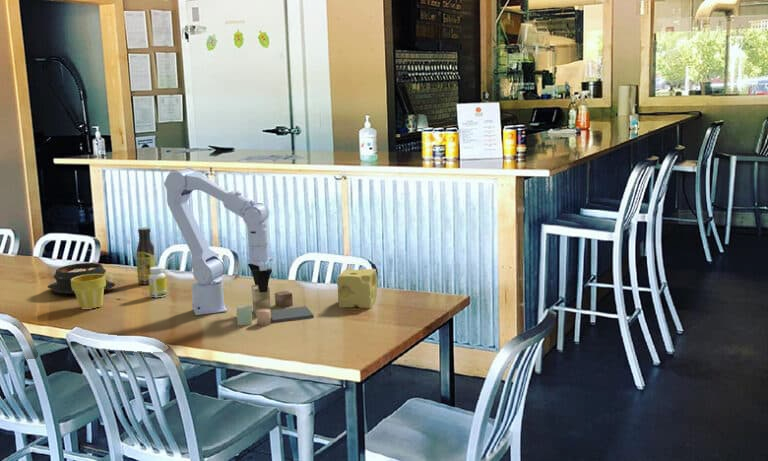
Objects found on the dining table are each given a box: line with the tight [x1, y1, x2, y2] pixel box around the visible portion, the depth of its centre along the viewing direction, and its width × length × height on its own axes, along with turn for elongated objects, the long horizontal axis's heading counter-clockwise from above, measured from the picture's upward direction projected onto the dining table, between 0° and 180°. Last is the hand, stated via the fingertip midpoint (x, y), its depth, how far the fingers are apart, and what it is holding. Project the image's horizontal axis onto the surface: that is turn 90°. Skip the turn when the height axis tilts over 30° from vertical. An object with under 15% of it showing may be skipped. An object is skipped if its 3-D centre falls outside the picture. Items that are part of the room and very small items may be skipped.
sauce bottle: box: [135, 226, 156, 285], centre depth 278 cm, size 7×6×20 cm
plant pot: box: [71, 274, 107, 309], centre depth 250 cm, size 10×10×10 cm
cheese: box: [336, 268, 378, 309], centre depth 243 cm, size 10×11×10 cm
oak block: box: [251, 285, 272, 316], centre depth 238 cm, size 4×4×8 cm
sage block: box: [236, 305, 253, 326], centre depth 228 cm, size 4×4×4 cm
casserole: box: [47, 262, 116, 295], centre depth 272 cm, size 25×19×8 cm
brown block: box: [255, 309, 272, 327], centre depth 226 cm, size 4×4×4 cm
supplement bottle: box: [148, 265, 168, 298], centre depth 260 cm, size 5×5×10 cm
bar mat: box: [270, 305, 314, 324], centre depth 233 cm, size 12×10×1 cm
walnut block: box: [274, 290, 294, 309], centre depth 244 cm, size 4×4×4 cm
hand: (261, 289), depth 237 cm, fingers open, 7 cm apart
